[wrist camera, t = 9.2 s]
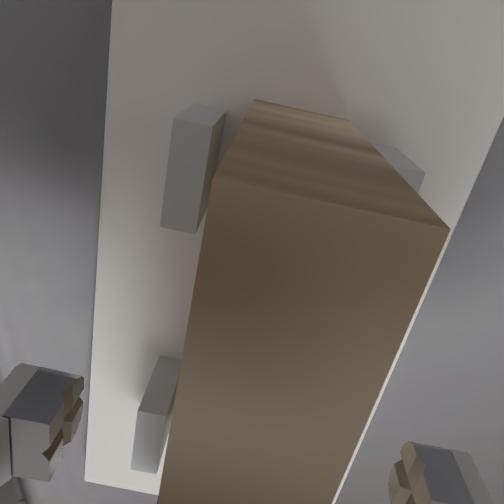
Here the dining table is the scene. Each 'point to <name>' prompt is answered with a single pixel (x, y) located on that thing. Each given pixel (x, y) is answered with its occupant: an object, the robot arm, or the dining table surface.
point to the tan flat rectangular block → (293, 310)
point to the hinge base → (218, 141)
